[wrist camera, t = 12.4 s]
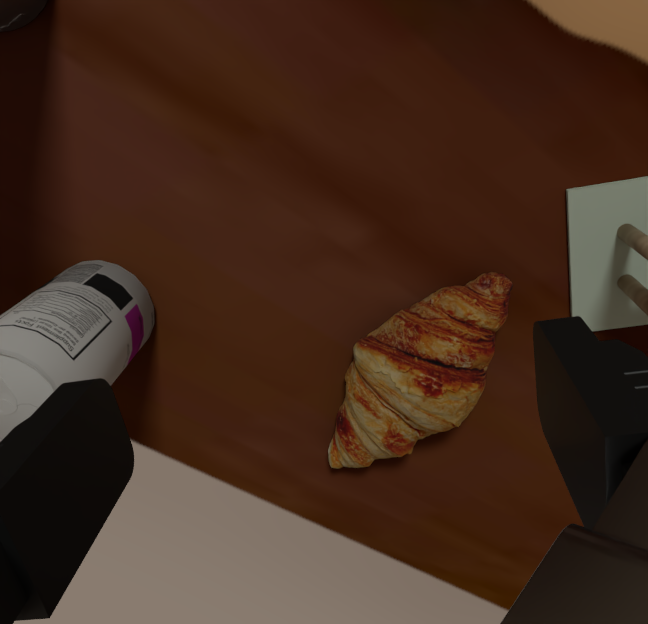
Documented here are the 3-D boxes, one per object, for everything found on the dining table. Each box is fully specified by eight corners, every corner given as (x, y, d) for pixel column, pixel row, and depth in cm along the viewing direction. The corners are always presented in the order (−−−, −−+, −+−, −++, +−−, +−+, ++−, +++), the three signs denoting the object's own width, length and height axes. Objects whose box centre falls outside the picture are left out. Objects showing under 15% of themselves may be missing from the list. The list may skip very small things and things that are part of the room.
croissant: (363, 445, 57) (397, 519, 51) (273, 425, 51) (300, 506, 45) (518, 268, 49) (580, 333, 43) (431, 222, 43) (489, 288, 37)
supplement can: (176, 329, 50) (99, 436, 36) (93, 366, 52) (-10, 480, 38) (121, 240, 47) (15, 319, 33) (37, 282, 49) (-97, 373, 35)
